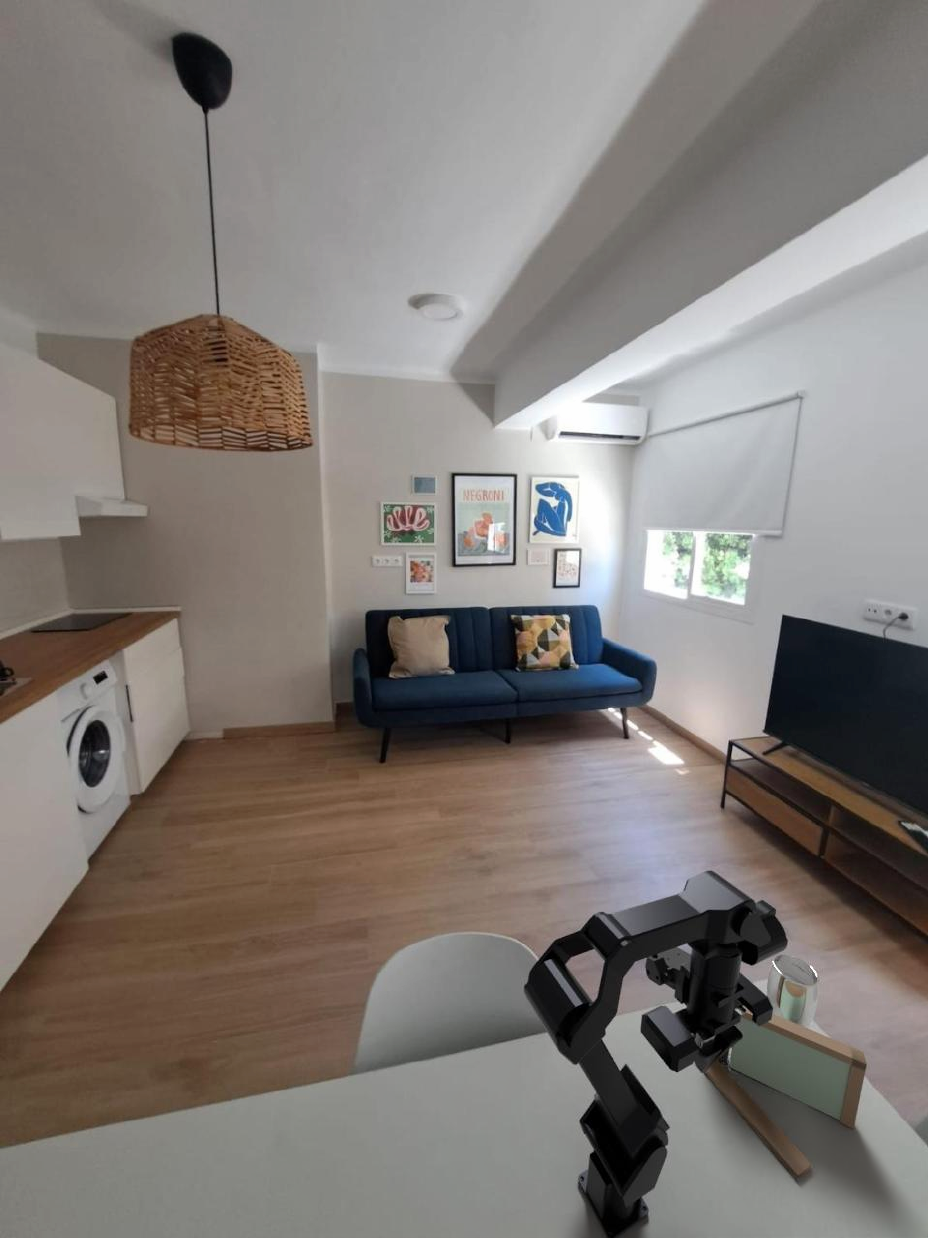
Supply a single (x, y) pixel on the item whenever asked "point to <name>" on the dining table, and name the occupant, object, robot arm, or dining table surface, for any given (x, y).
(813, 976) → the beer glass
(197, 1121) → the dining table surface
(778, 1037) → the board
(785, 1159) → the gate frame
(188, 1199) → the dining table surface
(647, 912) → the robot arm
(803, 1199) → the dining table surface
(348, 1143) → the dining table surface
